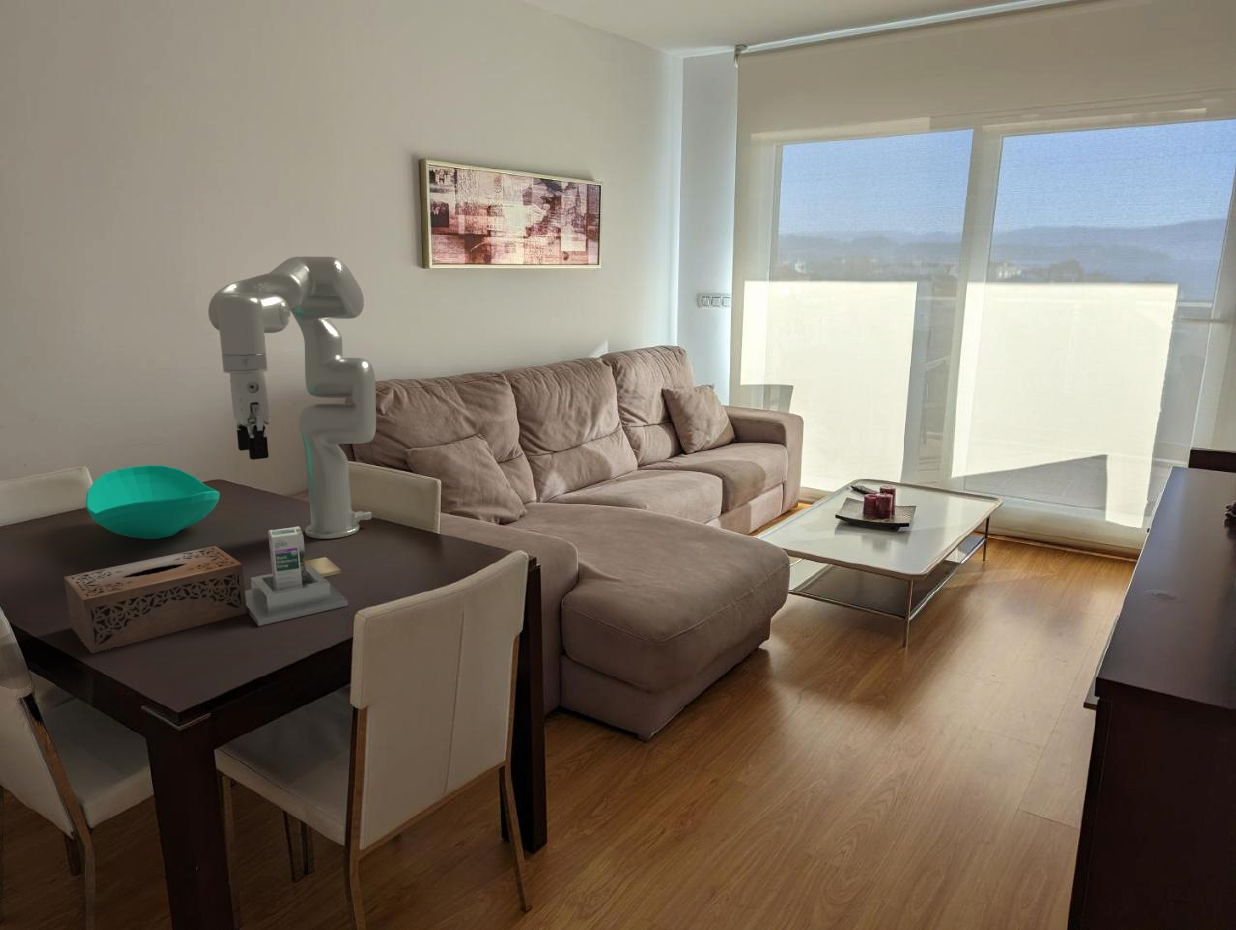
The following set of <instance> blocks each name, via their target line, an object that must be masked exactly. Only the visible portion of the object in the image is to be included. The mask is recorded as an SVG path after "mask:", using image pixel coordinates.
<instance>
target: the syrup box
mask: <svg viewBox="0 0 1236 930" xmlns="http://www.w3.org/2000/svg"><path fill="white" fill-rule="evenodd" d="M267 532H268V543H269V544H268V545H269V551H270V552H269V553H270V562H271V572H272V573H271V574H273V584H274V591H278V590H283V589H288V588H293V587H297V586H302V585H307V573H306V562H305V561H306V553H305V541H304V535H303V532H302V530H301V527H300V526H299V525H298V526H294V527H287V528H278V529H270V530H268V531H267Z"/></svg>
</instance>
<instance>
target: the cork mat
mask: <svg viewBox="0 0 1236 930" xmlns="http://www.w3.org/2000/svg"><path fill="white" fill-rule="evenodd" d="M305 562H306V567H307V566H312V567H313V568H314V569H315V570H316V571H317V572H318V573H320V574H321V575H322V576H323V577H324V578H325V577H330V576H335V575H341V574H342V570H341V568H339V567H338V566H337V565H336V564H335V563H334V562H332V560H330V559H329V558H327V556H324V557H320V558H319V557H318V558H314V559H308V560H305Z"/></svg>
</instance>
